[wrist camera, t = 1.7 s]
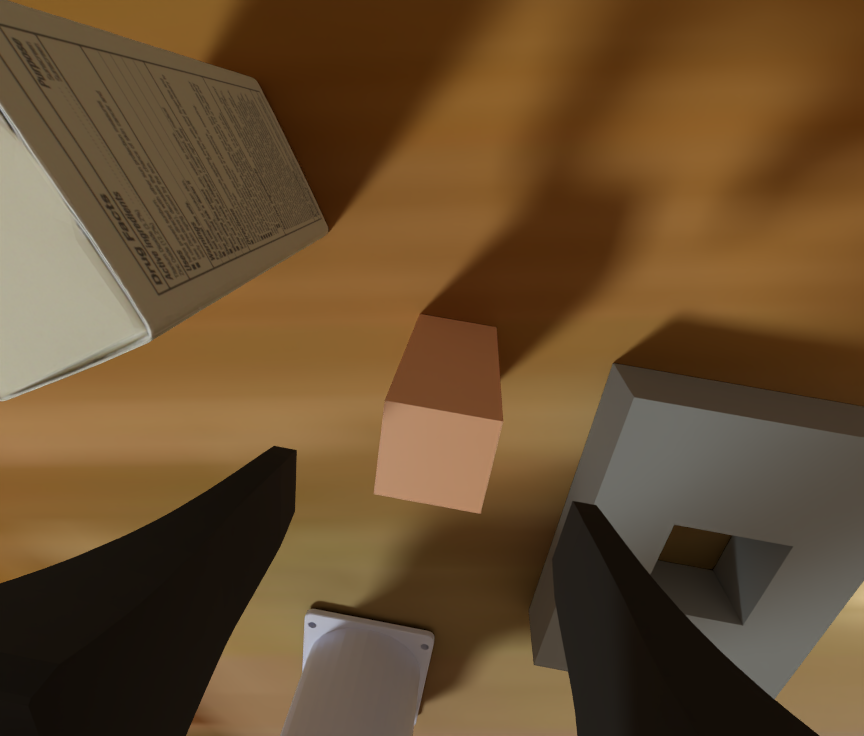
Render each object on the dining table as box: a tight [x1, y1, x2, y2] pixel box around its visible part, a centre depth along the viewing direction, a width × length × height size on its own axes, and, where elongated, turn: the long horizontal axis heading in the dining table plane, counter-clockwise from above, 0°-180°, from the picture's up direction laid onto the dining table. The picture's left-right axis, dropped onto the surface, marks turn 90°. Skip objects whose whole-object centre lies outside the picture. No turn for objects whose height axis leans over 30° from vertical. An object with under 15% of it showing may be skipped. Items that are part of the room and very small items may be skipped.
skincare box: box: [0, 0, 328, 401], centre depth 14 cm, size 6×4×12 cm
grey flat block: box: [529, 363, 864, 699], centre depth 22 cm, size 16×12×3 cm
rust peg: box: [374, 314, 503, 514], centre depth 18 cm, size 3×3×8 cm
